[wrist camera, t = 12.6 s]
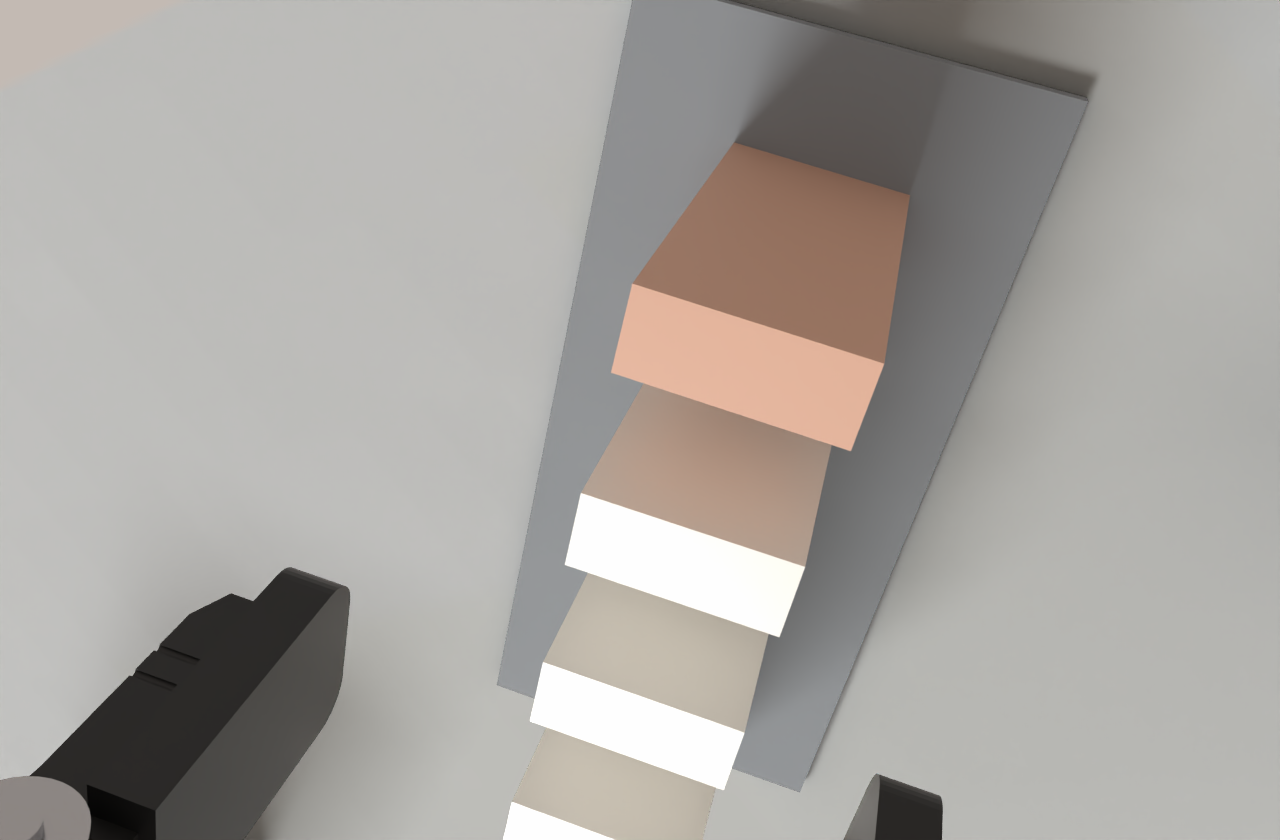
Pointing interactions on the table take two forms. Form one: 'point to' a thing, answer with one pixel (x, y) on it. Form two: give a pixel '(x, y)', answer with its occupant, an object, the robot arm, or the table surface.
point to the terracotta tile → (771, 296)
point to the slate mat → (920, 324)
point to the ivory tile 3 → (651, 680)
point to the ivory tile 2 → (603, 796)
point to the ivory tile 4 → (702, 509)
